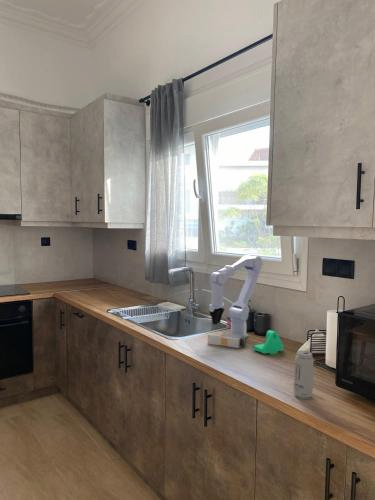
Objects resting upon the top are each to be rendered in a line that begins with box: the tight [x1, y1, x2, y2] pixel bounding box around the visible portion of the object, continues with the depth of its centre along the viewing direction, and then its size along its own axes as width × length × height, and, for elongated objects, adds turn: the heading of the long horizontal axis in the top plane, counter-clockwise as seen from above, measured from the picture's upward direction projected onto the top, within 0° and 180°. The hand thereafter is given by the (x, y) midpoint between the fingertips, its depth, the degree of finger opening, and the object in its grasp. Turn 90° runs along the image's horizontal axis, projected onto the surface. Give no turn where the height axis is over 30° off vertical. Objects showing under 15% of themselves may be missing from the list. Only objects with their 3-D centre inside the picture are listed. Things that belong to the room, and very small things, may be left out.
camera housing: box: [219, 332, 246, 348], centre depth 188 cm, size 7×11×4 cm, turn 63°
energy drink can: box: [293, 350, 315, 400], centre depth 131 cm, size 6×6×15 cm
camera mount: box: [253, 329, 284, 355], centre depth 180 cm, size 12×8×10 cm, turn 122°
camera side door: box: [207, 333, 241, 349], centre depth 186 cm, size 1×16×4 cm, turn 63°
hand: (216, 323), depth 192 cm, fingers open, 3 cm apart
